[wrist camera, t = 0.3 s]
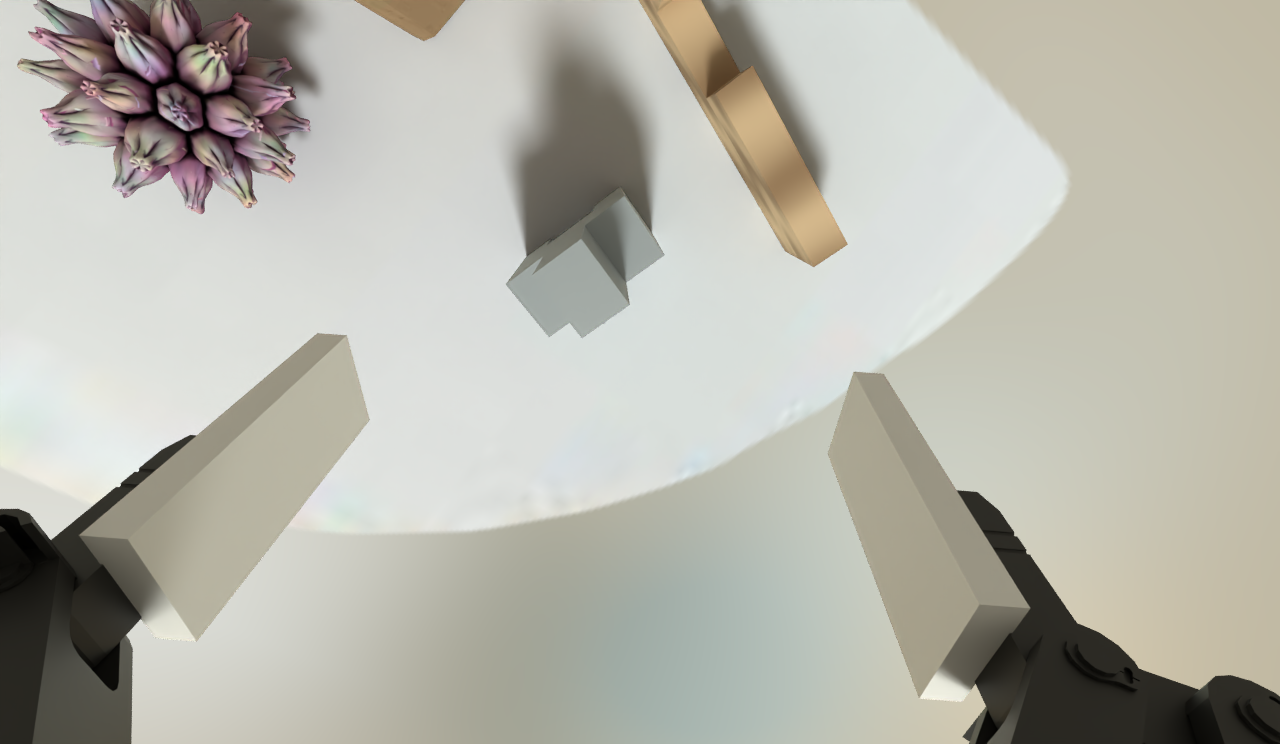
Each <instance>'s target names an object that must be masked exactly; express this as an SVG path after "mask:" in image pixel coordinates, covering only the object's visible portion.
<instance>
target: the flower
mask: <svg viewBox="0 0 1280 744" xmlns="http://www.w3.org/2000/svg"><path fill="white" fill-rule="evenodd" d="M37 2H38V3H37V4H33V5H34V7H35V8H36V9H37V10H38V11H40V12H41V13H42V14H44V15H45V16H46V17H47V18H48V19H49V20H50V21H51V23H52V24H53V25H54V26H55V27H56V29H57V30H58V31H59V33H60V34H57V33H55V32H52V31H50V30H47V29H45V28H40V27H35V29H36V31H37V32H36V33H33V32H29V31H28V32H29V34H30V36H31V37H32V38H33V39H34V40H36V41H37V42H39V43H40V44H42V45H44V46H46V47H47V48H49V49H51V50H52V51H54V52H55V53H56V54H57V55H58V56H59V57H60V58H61V59H62V60H59V59H58V60H50V61H32V60H27V59H20V61H19V62H18V65H17V67H18V68H19V69H20V70H22V71H24V72H27V73H30V74H34V75H37V76H39V77H41V78H43V79H45V80H46V81H48V82H50V83H51V84H53V85H54V86H56V87H57V88H59V89H61V90H64V91H66V92H68V93H69V94H67V95H66V96H65V97H64V98H63V99H62V100H61V101H60V103H59V104H57V105H56V106H55V107H52V108H47V109H42V110H40V112H41V113H42V114H43V118H42V119H44V120H45V121H46V122H47V123H48V126H49V127H54V128H61V129H58V130H56V131H54V132H51V133H50V134H49V136H50V137H52V138H54V140H55V141H56V142H58V143H59V145H60V146H64V145H69V144H75V143H81V144H87V145H93V146H97V147H110V146H116V149H115V151H114V153H113V155H114V165H115V170H116V179H115V181H114V183H113V185H112V188H113V189H117V191H118V192H122V194H123V197H124V198H126V197H129V196H130V195H132V194H133V193H134V192H135V191H136V190H137V189H138V188H140V187H142V186H145V185H149V184H152V183H154V182H156V181H158V180H160V179H162V177H163V176H164V175H165V174H166V173H168V172H169V171H170V172H171V176H172V178H173V180H174V182H175V184H176V185H177V187H178V189H179V190H180V191H181V193H182V195H183V197H184V201H185V206H186V208H188V209H191V210H192V211H196V212H198V213H199V214H203V213H204V211H205V208H204V202H205V198H206V197H207V195H208V193H209V191H210V190H211V188H212V183H213V180H214V182H215V183H216V184H217V185H218V186H219V187H221V188H222V189H224V190H226V191H227V192H229V193H231V194H232V195H234V196H236V197H237V198H238V199H239V200H240V201H241V203H242V204H243V205H244V206H245V207H246V208H251V207H252V204H253V205H255V203H257V200H256V198H255V196H254V194H253V192H254V191H253V189H252V172H251V169H252V170H253V171H255V172H258V173H262V174H265V175H271V176H276V177H279V178H281V179H283V180H285V181H286V182H288V183H290V181H292V178H293V177H295V174H294V173H293V172H292V171H290V170H289V169H288V168H287V167H286V165H293V161H295V155H294V154H293V153H291V152H290V151H288V150H287V149H286V144H285V143H283V142H281V141H280V139H279V138H278V136H279V135H285V134H287V133H290V132H295V131H306V132H310V129H309V128H310V126H309V123H310V121H309V120H307V119H304V118H300V117H298V116H296V115H294V114H293V113H291V112H290V111H288V110H287V109H285V108H283V107H281V106H282V105H283V104H284V103H285V102H287V101H290V100H294V99H296V96H295V95H294V93H295V92H294V91H293V87H291V86H284V83H283V82H282V81H279V79H280V78H281V76H282V75H283V74H284V73H285V72H287V71H289V70H291V69H292V67H291V66H290V62H288V60H287V58H286V57H284V58H280V59H276V60H273V59H266V58H260V57H248V42H247V34H248V31H249V29H250V28H251V26H252V23H251V22H249V20H248V18H246V17H243V15H242V13H238V12H236V13H235V14H234V15H233V16H232V18H230V19H229V20H226V21H219V22H215V23H212V24H209V25H206V26H205V27H204V28H203V29H202V26H201V21H200V18H199V16H198V14H197V12H196V11H195V9H194V8H193V6H192V4H191V3H190V1H189V0H153V2H152V4H151V6H150V17H149V16H148V15H147V14H146V13H145V12H144V11H143V10H142V9H140V8H139V7H138V6H137V5H136V4H134V3H133V2H131V1H130V0H90V2H91V7H92V13H93V16H94V19H95V20H94V19H92V18H89V17H86V16H84V15H81V14H77V13H74V12H71V11H67V10H64V9H61V8H59V7H57V6H55V5H53V4H52V3H50V2H48V1H47V0H37ZM277 135H278V136H277ZM285 164H286V165H285Z"/></svg>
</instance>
